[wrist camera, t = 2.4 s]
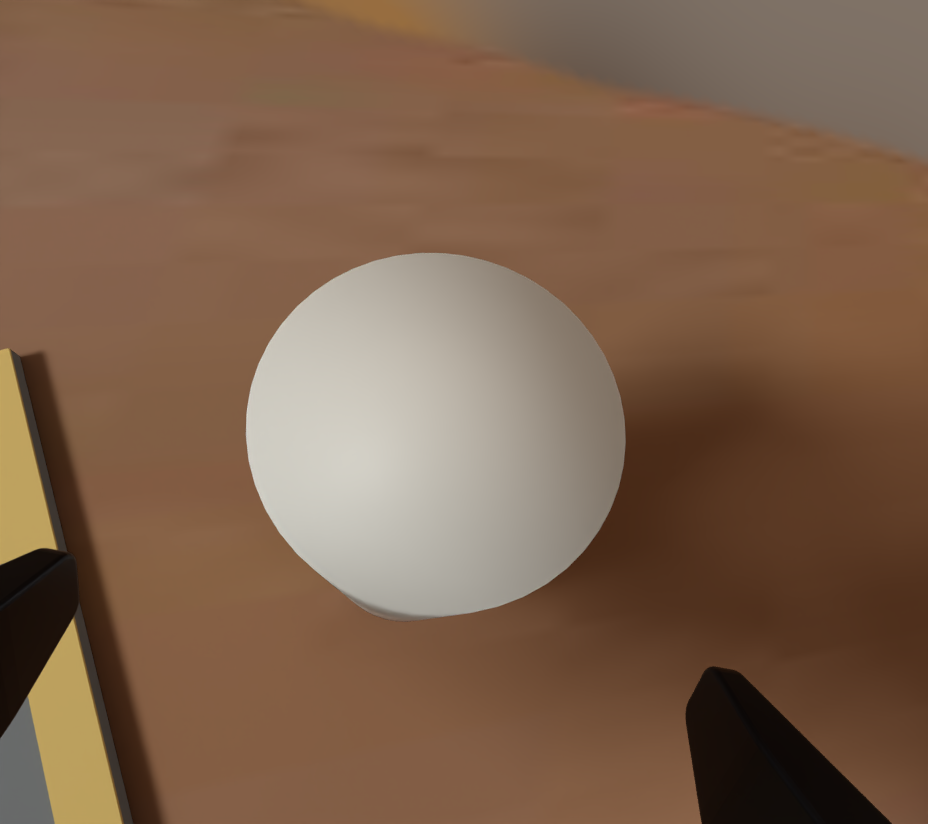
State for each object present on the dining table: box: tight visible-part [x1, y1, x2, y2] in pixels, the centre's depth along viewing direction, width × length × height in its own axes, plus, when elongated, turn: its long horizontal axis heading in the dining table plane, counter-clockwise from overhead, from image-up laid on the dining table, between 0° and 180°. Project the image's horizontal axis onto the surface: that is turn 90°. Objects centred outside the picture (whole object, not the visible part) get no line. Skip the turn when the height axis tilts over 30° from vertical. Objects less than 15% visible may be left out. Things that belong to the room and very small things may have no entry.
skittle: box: [246, 253, 626, 622], centre depth 13 cm, size 5×5×12 cm
